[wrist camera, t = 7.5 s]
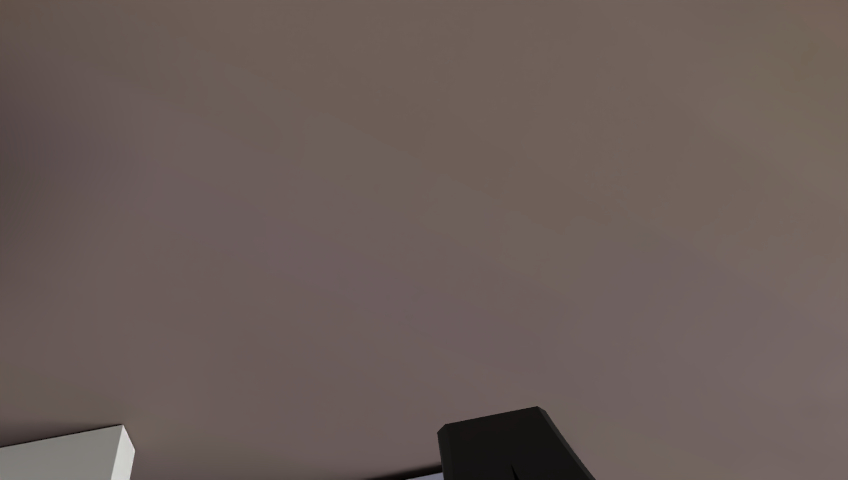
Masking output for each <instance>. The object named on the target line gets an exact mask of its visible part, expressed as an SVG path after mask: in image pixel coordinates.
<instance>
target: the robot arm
mask: <svg viewBox="0 0 848 480" xmlns="http://www.w3.org/2000/svg"><path fill="white" fill-rule="evenodd" d="M437 434H438V442H439V449H440V456H441V463H442V471H443V472H442V473H437V474H432V475H427V476H422V477H417V478H412V479H407V480H595V478H594V477H593V476H592V475H591V473H590V472H589V471H588V470H587V468H586V467H585V466H584V464H583V463H582V462H581V460H580V459H579V458H578V456H577V455H576V454H575V453H574V451H573V450H572V448H571V447H570V446H569V444H568V443H567V442H566V440H565V439H564V437H563V436H562V435H561V433H560V432H559V430H558V429H557V427H556V426H555V425H554V423H553V422H552V420H551V419H550V417H549V415H548V414H547V412H546V411H545V410H543V409H541V408H540V407H538V406H536V407H531V408H526V409H521V410H515V411H510V412H505V413H500V414H495V415H490V416H485V417H480V418H475V419H470V420H465V421H460V422H455V423H450V424H445V425H444V426H443V427H442V428H441V429H440V430H439V431H438V432H437Z"/></svg>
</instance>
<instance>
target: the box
mask: <svg viewBox="0 0 848 480" xmlns="http://www.w3.org/2000/svg"><path fill="white" fill-rule="evenodd" d="M134 454H135V449H134V447H133V445H132V443H131V441H130V439H129V436H128V434H127V432H126V430H125V428H124V426H123V425H119V426H114V427H109V428H103V429H98V430H93V431H88V432H82V433H77V434H72V435H66V436H61V437H56V438H51V439H45V440H40V441H35V442H29V443H24V444H19V445H13V446H8V447H3V448H0V480H129V479H130V474H131V469H132V464H133V459H134Z"/></svg>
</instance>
